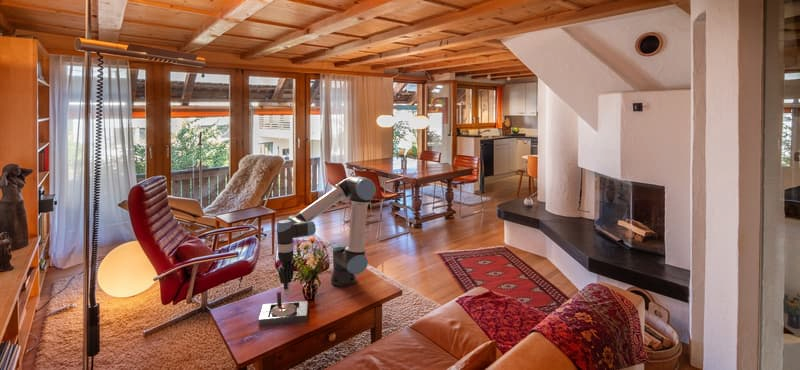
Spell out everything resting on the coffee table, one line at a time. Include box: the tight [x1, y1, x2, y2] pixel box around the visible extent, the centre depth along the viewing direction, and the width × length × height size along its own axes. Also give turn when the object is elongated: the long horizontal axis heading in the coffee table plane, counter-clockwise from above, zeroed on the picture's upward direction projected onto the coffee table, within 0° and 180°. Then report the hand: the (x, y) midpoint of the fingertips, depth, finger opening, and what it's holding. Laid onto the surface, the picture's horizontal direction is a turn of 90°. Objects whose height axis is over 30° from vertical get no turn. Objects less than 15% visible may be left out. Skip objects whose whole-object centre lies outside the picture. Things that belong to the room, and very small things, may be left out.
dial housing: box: [258, 300, 309, 327], centre depth 205 cm, size 22×16×4 cm
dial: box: [271, 291, 297, 317], centre depth 204 cm, size 12×12×9 cm
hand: (287, 294), depth 214 cm, fingers closed
